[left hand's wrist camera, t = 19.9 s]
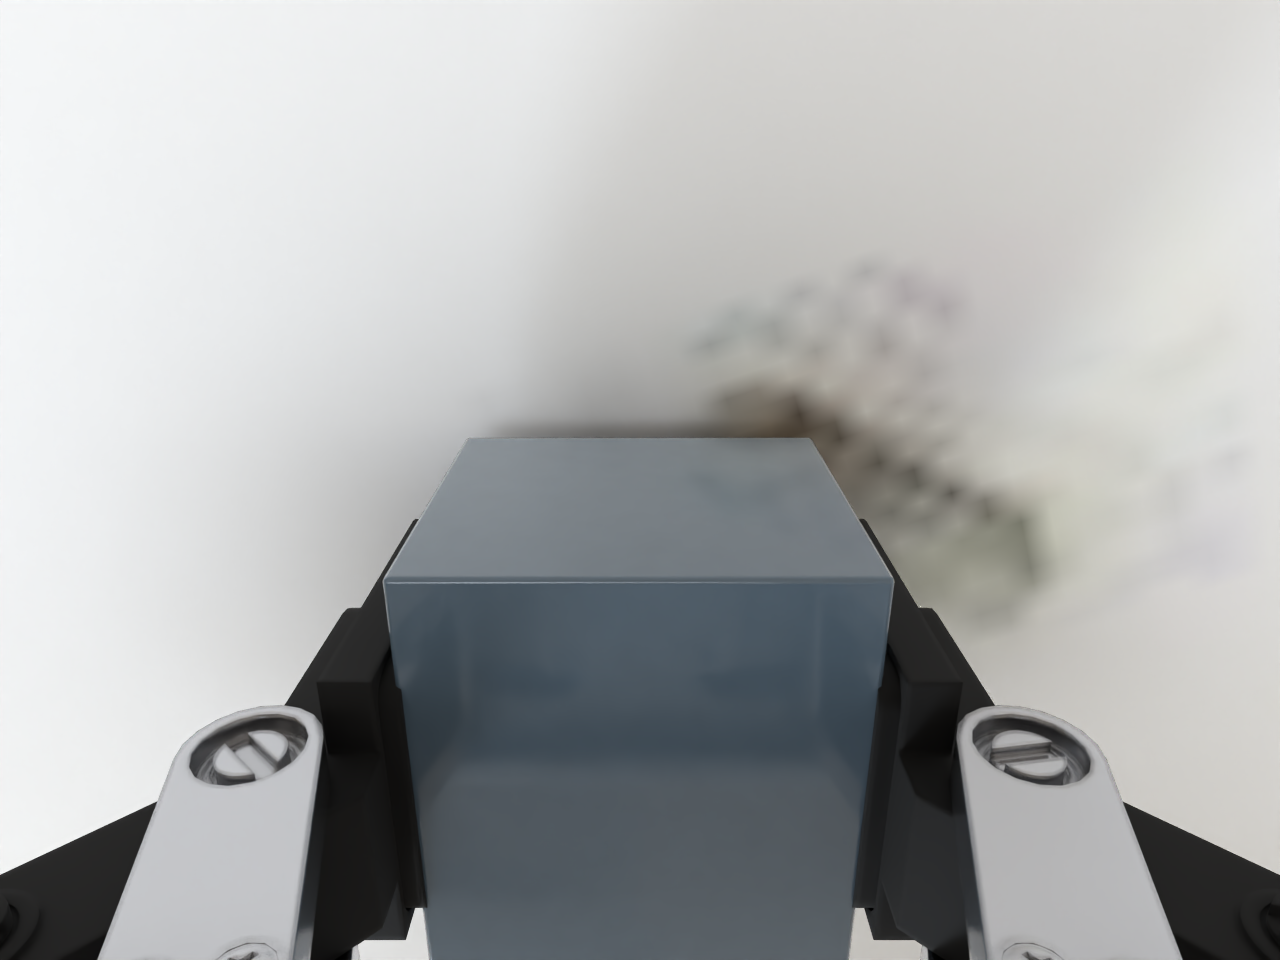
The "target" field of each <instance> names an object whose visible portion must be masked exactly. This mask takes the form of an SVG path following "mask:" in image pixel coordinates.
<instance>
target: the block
mask: <svg viewBox="0 0 1280 960" xmlns="http://www.w3.org/2000/svg"><path fill="white" fill-rule="evenodd" d="M383 588H384V596H385V604H386V612H387V620H388V628H389V637H390V645H391V653H392V661H393V669H394V677H395V684H396V686H397V687H398V688H400V689H401V691H402V700H403V708H404V716H405V725H406V733H407V742H408V750H409V758H410V767H411V775H412V783H413V792H414V800H415V809H416V817H417V825H418V834H419V842H420V850H421V859H422V867H423V876H424V884H425V892H426V901H427V908H423V914H424V922H425V930H426V938H427V946H428V954H429V960H849V956H850V948H851V939H852V931H853V923H854V914H855V908H852V904H853V895H854V887H855V878H856V870H857V862H858V853H859V845H860V836H861V828H862V820H863V811H864V803H865V794H866V786H867V778H868V769H869V761H870V752H871V744H872V736H873V727H874V719H875V710H876V702H877V693H878V688H879V687H881V686H882V681H883V673H884V664H885V656H886V648H887V639H888V631H889V623H890V614H891V606H892V598H893V589H894V579H893V576H892V575H891V573H890V571H889V570H888V568H887V566H886V564H885V563H884V561H883V559H882V558H881V556H880V554H879V553H878V551H877V549H876V547H875V546H874V544H873V542H872V541H871V539H870V537H869V536H868V534H867V532H866V530H865V529H864V527H863V525H862V524H861V522H860V520H859V519H858V517H857V515H856V513H855V512H854V510H853V508H852V507H851V505H850V503H849V502H848V500H847V498H846V496H845V495H844V493H843V491H842V490H841V488H840V486H839V485H838V483H837V481H836V479H835V478H834V476H833V474H832V473H831V471H830V469H829V468H828V466H827V464H826V462H825V461H824V459H823V457H822V456H821V454H820V452H819V451H818V449H817V447H816V445H815V444H814V442H813V440H812V439H810V438H468V439H466V441H465V443H464V444H463V446H462V448H461V449H460V451H459V453H458V454H457V456H456V458H455V459H454V461H453V463H452V464H451V466H450V468H449V469H448V471H447V473H446V474H445V476H444V478H443V480H442V481H441V483H440V485H439V486H438V488H437V490H436V491H435V493H434V495H433V496H432V498H431V500H430V501H429V503H428V505H427V506H426V508H425V510H424V511H423V513H422V515H421V516H420V518H419V520H418V521H417V523H416V525H415V527H414V528H413V530H412V532H411V533H410V535H409V537H408V538H407V540H406V542H405V543H404V545H403V547H402V548H401V550H400V552H399V553H398V555H397V557H396V558H395V560H394V562H393V563H392V565H391V567H390V569H389V570H388V572H387V574H386V575H385V577H384V579H383Z"/></svg>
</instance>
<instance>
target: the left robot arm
mask: <svg viewBox="0 0 1280 960" xmlns="http://www.w3.org/2000/svg"><path fill="white" fill-rule="evenodd" d="M418 520H419V519H415V520H414V521H413V522H412V524H411V526H410V527H409V529H408V530H407V532H406V534H405V535H404V537H403V539H402V540H401V542H400V544H399V545H398V547H397V549H396V550H395V552H394V554H393V555H392V557H391V559H390V560H389V562H388V564H387V565H386V567H385V569H384V570H383V572H382V574H381V575H380V577H379V579H378V580H377V582H376V584H375V585H374V587H373V589H372V590H371V592H370V594H369V595H368V597H367V599H366V600H365V602H364V604H363V605H362V607H361V608H348V609H347V610H346V611H345V612H344V613H343V614H342V615H341V617H340V619H339V620H338V622H337V623H336V625H335V626H334V628H333V630H332V631H331V633H330V634H329V636H328V638H327V639H326V641H325V642H324V644H323V645H322V647H321V649H320V650H319V652H318V653H317V655H316V656H315V658H314V660H313V661H312V663H311V664H310V666H309V668H308V669H307V671H306V672H305V674H304V675H303V677H302V679H301V680H300V682H299V683H298V685H297V686H296V688H295V690H294V691H293V693H292V694H291V696H290V698H289V699H288V701H287V702H286V704H285V705H284V706H283V705H277V706H260V707H256V708H251V709H247V710H242V711H238V712H235V713H233V714H230V715H228V716H225V717H223V718H220V719H217V720H216V721H214V722H212V723H210V724H209V725H207V726H205V727H204V728H202V729H200V730H199V731H197V732H196V733H195V734H194V735H193V736H192V737H190V738H189V739H188V740H187V741H186V742H185V743H184V744H183V745H182V746H181V748H180V750H179V751H178V753H177V754H176V756H175V758H174V759H173V762H172V765H171V767H170V770H169V772H168V775H167V778H166V780H165V783H164V786H163V788H162V791H161V794H160V796H159V799H158V801H157V802H155V803H153V804H151V805H149V806H146V807H144V808H142V809H140V810H138V811H136V812H134V813H132V814H129V815H127V816H125V817H123V818H121V819H119V820H117V821H114V822H112V823H110V824H108V825H106V826H104V827H102V828H99V829H97V830H95V831H93V832H91V833H89V834H87V835H85V836H82V837H80V838H78V839H76V840H74V841H72V842H70V843H67V844H65V845H63V846H61V847H59V848H57V849H55V850H52V851H50V852H48V853H46V854H44V855H42V856H40V857H38V858H35V859H33V860H31V861H29V862H27V863H25V864H23V865H20V866H18V867H16V868H14V869H12V870H10V871H8V872H5V873H3V874H1V875H0V960H360V957H359V950H358V944H359V943H361V942H362V941H364V940H406V937H407V934H408V930H409V927H410V923H411V920H412V917H413V913H414V910H415V908H427V901H426V892H425V884H424V876H423V867H422V859H421V850H420V842H419V834H418V825H417V817H416V809H415V800H414V792H413V783H412V775H411V767H410V758H409V750H408V742H407V733H406V725H405V716H404V708H403V700H402V691H401V689H400V688H398V687H397V686H396V684H395V677H394V669H393V661H392V653H391V645H390V637H389V628H388V620H387V612H386V604H385V596H384V588H383V579H384V577H385V575H386V574H387V572H388V570H389V569H390V567H391V565H392V563H393V562H394V560H395V558H396V557H397V555H398V553H399V552H400V550H401V548H402V547H403V545H404V543H405V542H406V540H407V538H408V537H409V535H410V533H411V532H412V530H413V528H414V527H415V525H416V523H417V521H418ZM859 520H860V522H861V524H862V525H863V527H864V529H865V530H866V532H867V534H868V536H869V537H870V539H871V541H872V542H873V544H874V546H875V547H876V549H877V551H878V553H879V554H880V556H881V558H882V559H883V561H884V563H885V564H886V566H887V568H888V570H889V571H890V573H891V575H892V576H893V579H894V589H893V598H892V606H891V614H890V623H889V631H888V639H887V648H886V656H885V664H884V673H883V681H882V686H881V687H879V688H878V693H877V702H876V710H875V719H874V727H873V736H872V744H871V752H870V761H869V769H868V778H867V786H866V794H865V803H864V811H863V820H862V828H861V836H860V845H859V853H858V862H857V870H856V878H855V887H854V895H853V904H852V908H865V912H866V915H867V919H868V922H869V925H870V929H871V932H872V936H873V939H874V940H916V941H917V942H919V943H920V944H922V950H921V957H920V960H1280V875H1278V874H1276V873H1274V872H1272V871H1270V870H1268V869H1265V868H1263V867H1261V866H1259V865H1257V864H1255V863H1253V862H1251V861H1248V860H1246V859H1244V858H1242V857H1240V856H1238V855H1236V854H1233V853H1231V852H1229V851H1227V850H1225V849H1223V848H1221V847H1218V846H1216V845H1214V844H1212V843H1210V842H1208V841H1206V840H1204V839H1201V838H1199V837H1197V836H1195V835H1193V834H1191V833H1189V832H1186V831H1184V830H1182V829H1180V828H1178V827H1176V826H1174V825H1171V824H1169V823H1167V822H1165V821H1163V820H1161V819H1159V818H1156V817H1154V816H1152V815H1150V814H1148V813H1146V812H1144V811H1142V810H1139V809H1137V808H1135V807H1133V806H1131V805H1129V804H1127V803H1124V802H1123V801H1122V799H1121V796H1120V794H1119V791H1118V788H1117V786H1116V783H1115V780H1114V778H1113V775H1112V772H1111V770H1110V767H1109V765H1108V762H1107V759H1106V758H1105V756H1104V754H1103V753H1102V751H1101V750H1100V748H1099V746H1098V745H1097V744H1096V743H1095V742H1094V741H1093V740H1092V739H1091V738H1089V737H1088V736H1087V735H1086V734H1085V733H1084V732H1083V731H1081V730H1080V729H1078V728H1076V727H1075V726H1073V725H1071V724H1070V723H1068V722H1066V721H1064V720H1063V719H1060V718H1057V717H1055V716H1052V715H1050V714H1047V713H1045V712H1042V711H1038V710H1033V709H1029V708H1024V707H1020V706H1003V705H997V706H995V705H994V703H993V702H992V700H991V699H990V697H989V695H988V694H987V692H986V691H985V689H984V687H983V686H982V684H981V683H980V681H979V680H978V678H977V676H976V675H975V673H974V672H973V670H972V669H971V667H970V665H969V664H968V662H967V661H966V659H965V657H964V656H963V654H962V653H961V651H960V650H959V648H958V646H957V645H956V643H955V642H954V640H953V639H952V637H951V635H950V634H949V632H948V631H947V629H946V627H945V626H944V624H943V623H942V621H941V620H940V618H939V616H938V615H937V614H936V612H935V611H934V610H933V609H931V608H918V606H917V605H916V603H915V601H914V600H913V598H912V596H911V595H910V593H909V591H908V590H907V588H906V586H905V585H904V583H903V581H902V580H901V578H900V576H899V575H898V573H897V571H896V570H895V568H894V566H893V565H892V563H891V561H890V560H889V558H888V557H887V555H886V553H885V552H884V550H883V548H882V547H881V545H880V543H879V542H878V540H877V538H876V537H875V535H874V533H873V532H872V530H871V528H870V527H869V525H868V523H867V522H866V521H865V520H864V519H859Z"/></svg>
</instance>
